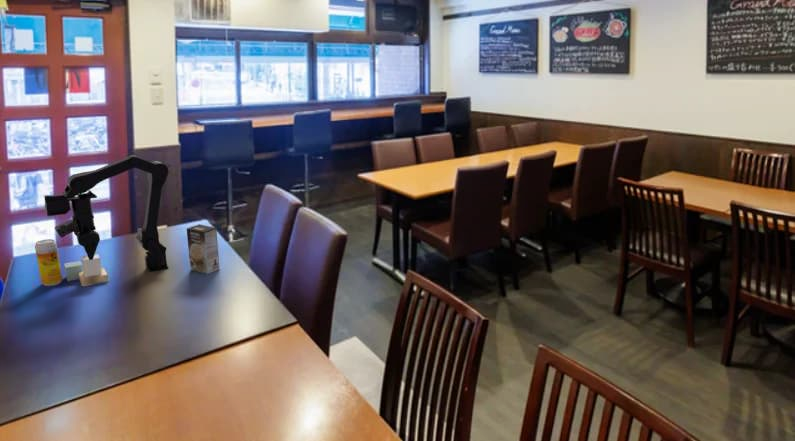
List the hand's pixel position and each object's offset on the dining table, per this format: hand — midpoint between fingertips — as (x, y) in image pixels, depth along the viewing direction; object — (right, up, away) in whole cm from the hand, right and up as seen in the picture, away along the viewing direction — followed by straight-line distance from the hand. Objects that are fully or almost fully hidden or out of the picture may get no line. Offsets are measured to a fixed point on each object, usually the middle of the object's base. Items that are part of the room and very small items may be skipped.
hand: (89, 256), depth 185 cm
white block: (0, -6, +2) cm, 7 cm away
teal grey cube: (-8, -8, +5) cm, 12 cm away
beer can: (-13, -10, 0) cm, 16 cm away
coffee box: (+35, -6, +13) cm, 38 cm away
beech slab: (0, -9, +3) cm, 10 cm away
